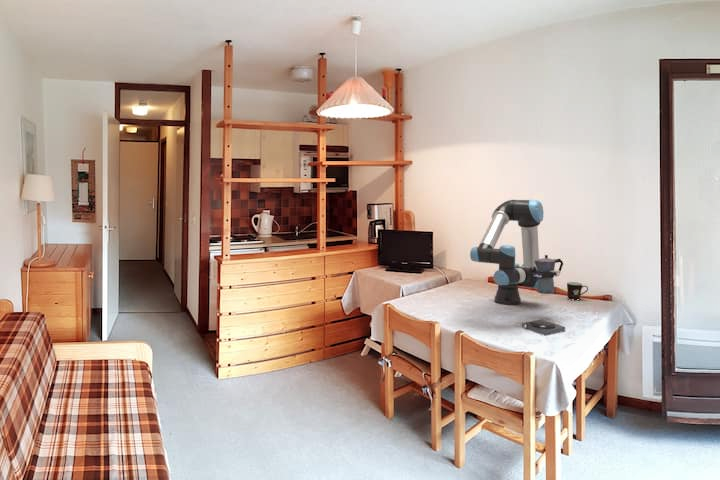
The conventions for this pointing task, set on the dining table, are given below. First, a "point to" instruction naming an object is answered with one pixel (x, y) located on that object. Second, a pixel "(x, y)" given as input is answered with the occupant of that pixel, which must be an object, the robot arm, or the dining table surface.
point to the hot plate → (543, 327)
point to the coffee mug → (574, 290)
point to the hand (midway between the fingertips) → (552, 271)
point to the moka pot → (546, 266)
